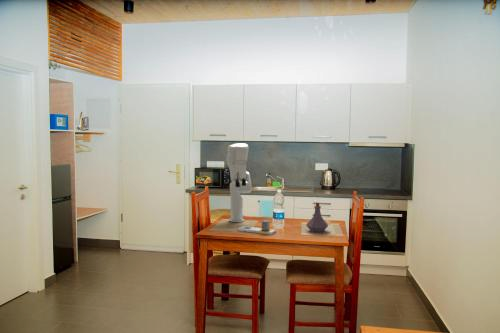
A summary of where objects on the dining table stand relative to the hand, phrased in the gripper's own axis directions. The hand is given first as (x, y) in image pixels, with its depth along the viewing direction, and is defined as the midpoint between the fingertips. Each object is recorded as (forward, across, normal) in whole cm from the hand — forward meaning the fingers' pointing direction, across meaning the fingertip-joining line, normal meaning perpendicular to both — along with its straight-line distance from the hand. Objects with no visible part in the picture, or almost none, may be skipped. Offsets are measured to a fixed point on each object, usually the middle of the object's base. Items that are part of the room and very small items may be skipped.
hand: (240, 186), depth 289 cm
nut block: (+30, +6, +23) cm, 38 cm away
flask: (+31, -17, +53) cm, 63 cm away
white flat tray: (+30, +6, +16) cm, 35 cm away
